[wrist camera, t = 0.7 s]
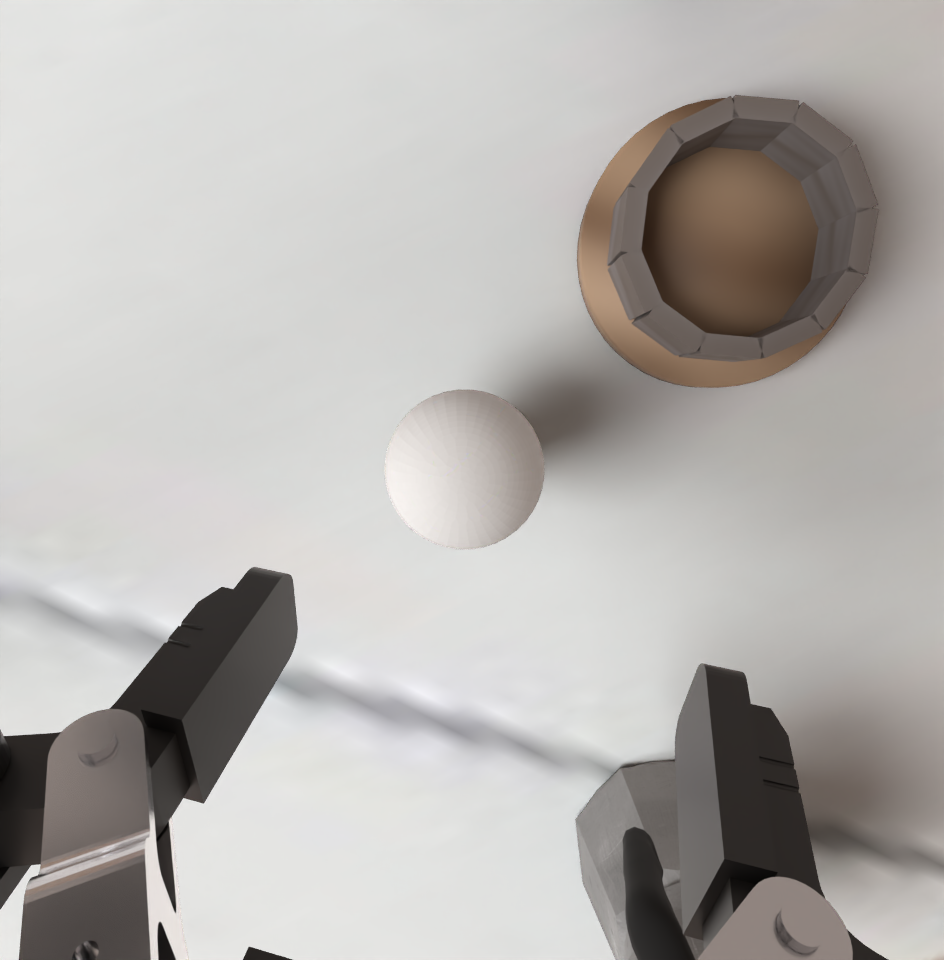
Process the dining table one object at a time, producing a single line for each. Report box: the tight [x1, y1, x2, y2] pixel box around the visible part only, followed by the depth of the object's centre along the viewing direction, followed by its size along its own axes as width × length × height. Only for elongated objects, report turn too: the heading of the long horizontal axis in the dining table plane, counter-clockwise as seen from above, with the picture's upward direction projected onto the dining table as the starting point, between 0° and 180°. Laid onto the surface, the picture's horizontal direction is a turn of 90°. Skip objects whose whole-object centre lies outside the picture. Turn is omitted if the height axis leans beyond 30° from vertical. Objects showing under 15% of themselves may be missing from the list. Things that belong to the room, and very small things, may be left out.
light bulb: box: [385, 390, 544, 549], centre depth 27 cm, size 6×6×10 cm
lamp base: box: [577, 95, 878, 388], centre depth 28 cm, size 12×12×4 cm
